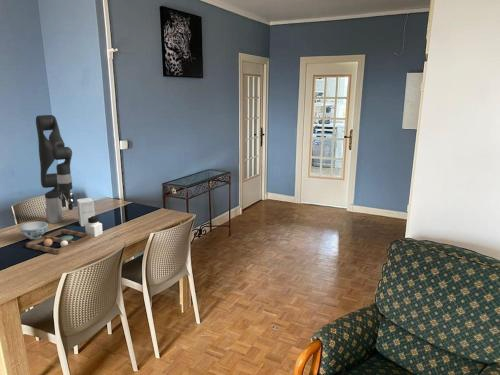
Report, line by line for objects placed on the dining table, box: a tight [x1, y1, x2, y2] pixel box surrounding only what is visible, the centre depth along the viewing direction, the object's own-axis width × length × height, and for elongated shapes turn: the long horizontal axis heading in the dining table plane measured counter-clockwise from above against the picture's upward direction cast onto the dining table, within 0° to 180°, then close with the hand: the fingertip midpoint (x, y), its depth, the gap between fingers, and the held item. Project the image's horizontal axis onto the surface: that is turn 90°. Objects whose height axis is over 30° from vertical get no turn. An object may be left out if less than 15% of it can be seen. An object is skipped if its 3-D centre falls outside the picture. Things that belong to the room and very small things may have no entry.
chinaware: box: [19, 220, 49, 240], centre depth 229 cm, size 15×15×8 cm
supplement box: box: [76, 197, 96, 227], centre depth 254 cm, size 10×9×17 cm
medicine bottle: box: [84, 215, 104, 238], centre depth 235 cm, size 7×7×12 cm
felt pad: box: [59, 235, 74, 241], centre depth 230 cm, size 8×8×1 cm
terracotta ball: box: [43, 239, 53, 247], centre depth 218 cm, size 4×4×4 cm
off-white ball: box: [59, 240, 68, 248], centre depth 217 cm, size 4×4×4 cm
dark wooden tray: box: [24, 228, 93, 255], centre depth 223 cm, size 24×26×2 cm
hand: (67, 208), depth 222 cm, fingers open, 8 cm apart
